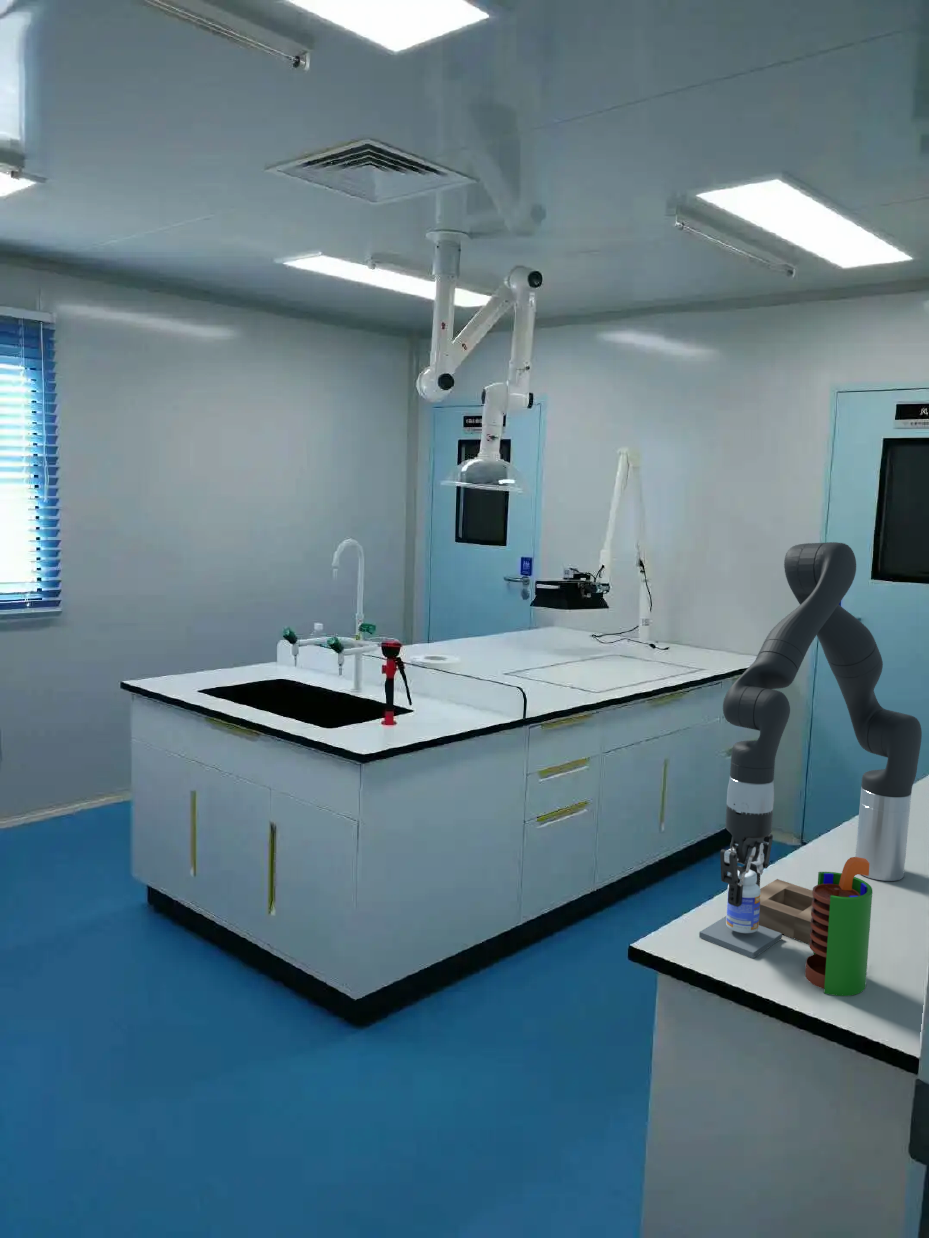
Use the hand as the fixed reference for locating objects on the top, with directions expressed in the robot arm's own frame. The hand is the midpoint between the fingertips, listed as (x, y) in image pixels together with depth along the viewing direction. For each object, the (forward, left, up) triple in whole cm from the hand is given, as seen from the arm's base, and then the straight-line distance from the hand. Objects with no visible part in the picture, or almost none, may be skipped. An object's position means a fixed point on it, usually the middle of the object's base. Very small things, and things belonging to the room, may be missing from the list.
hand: (743, 899), depth 164 cm
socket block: (-13, +3, -7) cm, 15 cm away
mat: (0, 0, -7) cm, 7 cm away
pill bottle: (0, 0, -5) cm, 5 cm away
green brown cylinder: (+2, +17, -7) cm, 19 cm away
